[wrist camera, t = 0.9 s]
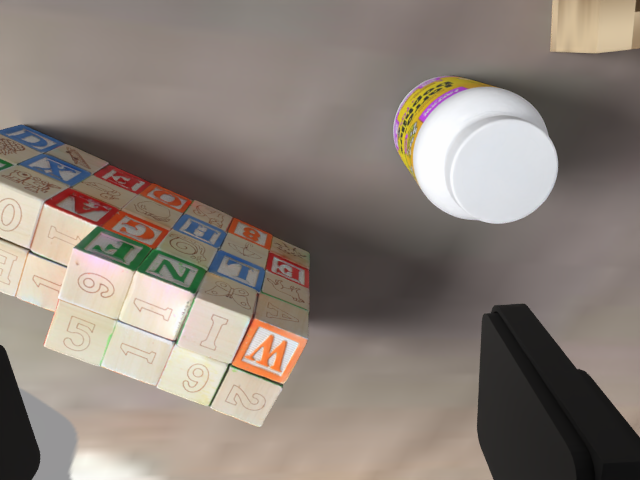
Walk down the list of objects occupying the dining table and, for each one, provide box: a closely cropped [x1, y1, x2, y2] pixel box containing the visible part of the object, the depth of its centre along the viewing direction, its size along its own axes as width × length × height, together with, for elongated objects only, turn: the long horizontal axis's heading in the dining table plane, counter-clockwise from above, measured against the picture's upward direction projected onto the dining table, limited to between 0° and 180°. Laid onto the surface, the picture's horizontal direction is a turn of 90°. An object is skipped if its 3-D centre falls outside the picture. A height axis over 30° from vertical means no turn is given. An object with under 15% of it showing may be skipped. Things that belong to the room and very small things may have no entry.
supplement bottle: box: [393, 76, 558, 224], centre depth 29 cm, size 7×7×13 cm
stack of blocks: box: [0, 125, 310, 427], centre depth 31 cm, size 21×6×12 cm, turn 64°
